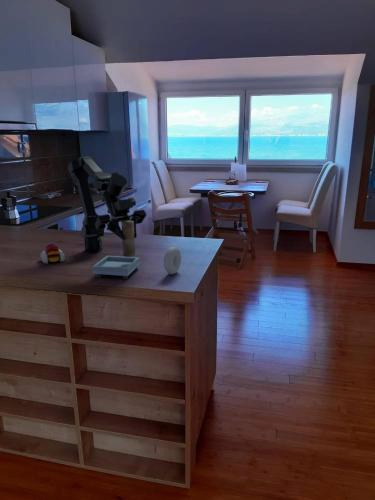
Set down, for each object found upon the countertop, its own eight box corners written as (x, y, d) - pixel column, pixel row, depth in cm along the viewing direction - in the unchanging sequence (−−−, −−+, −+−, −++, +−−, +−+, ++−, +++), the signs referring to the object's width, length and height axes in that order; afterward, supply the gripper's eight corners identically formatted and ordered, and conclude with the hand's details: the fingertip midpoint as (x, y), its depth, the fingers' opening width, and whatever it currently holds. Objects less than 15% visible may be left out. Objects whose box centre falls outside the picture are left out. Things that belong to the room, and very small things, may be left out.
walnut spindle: (120, 255, 140) (118, 222, 137) (128, 252, 144) (126, 219, 141) (130, 257, 138) (128, 223, 135) (137, 254, 142) (136, 221, 138)
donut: (174, 268, 144) (174, 243, 141) (182, 270, 143) (182, 244, 140) (162, 277, 136) (161, 250, 133) (170, 278, 134) (170, 251, 131)
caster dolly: (93, 277, 136) (92, 266, 134) (107, 266, 148) (107, 255, 147) (128, 280, 133) (127, 268, 132) (140, 268, 145) (139, 257, 144)
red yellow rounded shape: (43, 266, 149) (41, 248, 146) (40, 259, 157) (38, 242, 155) (66, 262, 152) (64, 245, 150) (61, 256, 161) (60, 239, 158)
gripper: (96, 192, 132) (112, 229, 127) (143, 187, 143) (160, 222, 138) (88, 211, 140) (103, 247, 135) (133, 206, 151) (149, 238, 146)
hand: (130, 238), depth 138 cm, fingers closed on walnut spindle, 4 cm apart
